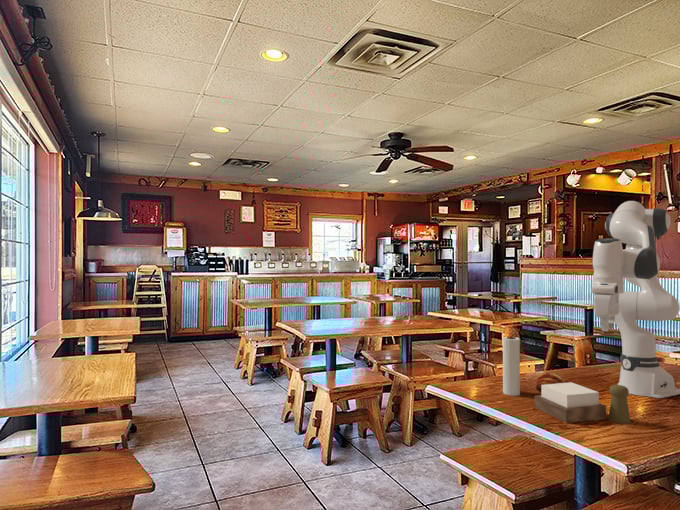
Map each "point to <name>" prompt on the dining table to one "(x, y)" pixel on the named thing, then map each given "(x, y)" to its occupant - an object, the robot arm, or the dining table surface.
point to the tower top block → (570, 394)
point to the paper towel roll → (511, 366)
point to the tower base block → (570, 411)
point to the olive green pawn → (619, 404)
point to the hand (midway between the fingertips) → (607, 329)
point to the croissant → (547, 380)
